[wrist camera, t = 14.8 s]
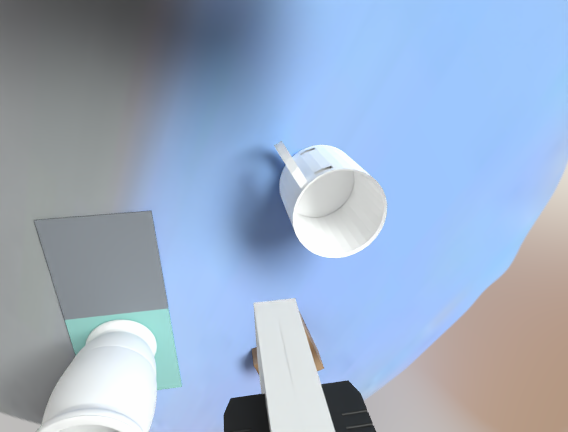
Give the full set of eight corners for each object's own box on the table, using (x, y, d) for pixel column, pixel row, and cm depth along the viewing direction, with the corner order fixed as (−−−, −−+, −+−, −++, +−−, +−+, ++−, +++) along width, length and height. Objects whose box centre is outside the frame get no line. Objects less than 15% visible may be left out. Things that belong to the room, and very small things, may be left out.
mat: (34, 219, 42) (34, 220, 42) (151, 210, 44) (151, 211, 44) (89, 398, 53) (89, 399, 53) (181, 385, 54) (181, 386, 54)
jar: (120, 295, 47) (81, 398, 34) (183, 343, 51) (170, 452, 38) (58, 347, 49) (-3, 465, 35) (124, 389, 53) (92, 509, 39)
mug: (369, 191, 47) (402, 224, 38) (304, 232, 48) (323, 273, 39) (319, 104, 42) (344, 120, 33) (248, 152, 43) (255, 179, 34)
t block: (243, 334, 52) (244, 350, 50) (299, 310, 52) (303, 325, 50) (266, 374, 56) (268, 391, 53) (318, 352, 56) (324, 368, 53)
